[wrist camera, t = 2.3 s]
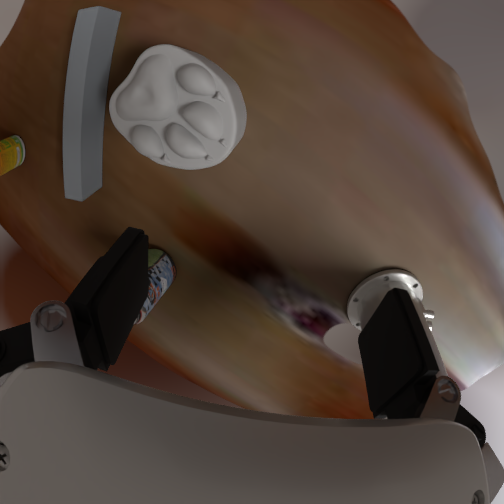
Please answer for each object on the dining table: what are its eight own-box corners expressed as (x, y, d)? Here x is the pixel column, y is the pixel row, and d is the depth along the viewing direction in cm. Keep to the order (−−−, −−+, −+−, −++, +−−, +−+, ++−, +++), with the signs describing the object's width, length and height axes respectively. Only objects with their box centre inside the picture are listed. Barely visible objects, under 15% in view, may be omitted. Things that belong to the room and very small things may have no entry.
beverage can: (166, 285, 43) (139, 344, 33) (128, 257, 41) (91, 311, 31) (187, 262, 40) (160, 323, 30) (146, 231, 38) (106, 285, 28)
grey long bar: (121, 12, 22) (99, 6, 17) (102, 186, 35) (82, 201, 31) (101, 14, 22) (78, 10, 17) (85, 183, 35) (65, 197, 31)
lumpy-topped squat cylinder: (184, 40, 24) (152, 28, 17) (270, 111, 28) (266, 119, 21) (130, 107, 29) (89, 118, 22) (208, 173, 33) (186, 202, 26)
